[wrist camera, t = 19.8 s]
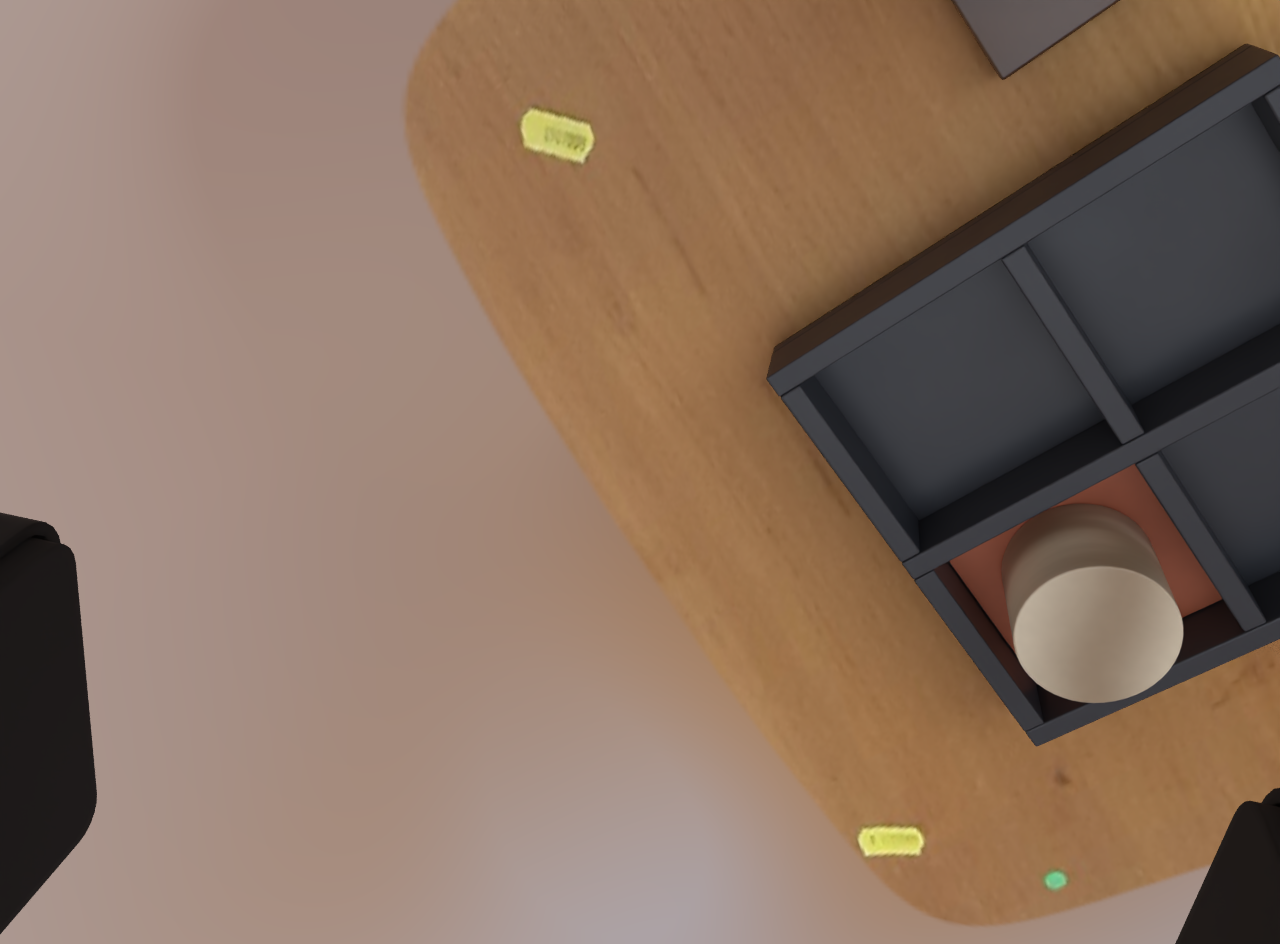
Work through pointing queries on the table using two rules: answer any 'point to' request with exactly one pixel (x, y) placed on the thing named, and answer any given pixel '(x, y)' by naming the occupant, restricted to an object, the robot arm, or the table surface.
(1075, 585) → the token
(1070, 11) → the stand
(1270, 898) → the robot arm
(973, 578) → the grid
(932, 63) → the table surface
